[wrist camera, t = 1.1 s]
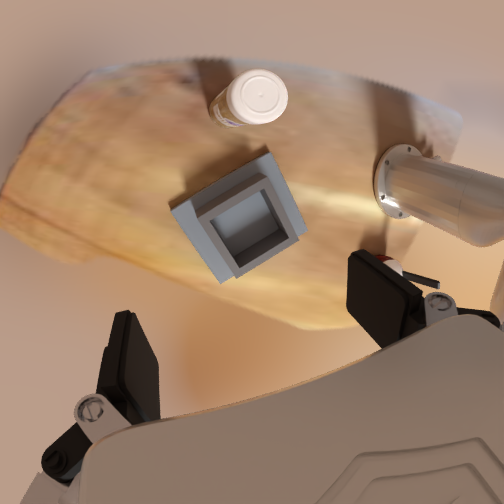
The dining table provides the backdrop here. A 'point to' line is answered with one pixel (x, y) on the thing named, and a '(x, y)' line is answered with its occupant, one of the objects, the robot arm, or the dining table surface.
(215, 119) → the sprinkles bottle
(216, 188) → the bottle stand
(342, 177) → the dining table surface
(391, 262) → the cocoa
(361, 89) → the dining table surface
